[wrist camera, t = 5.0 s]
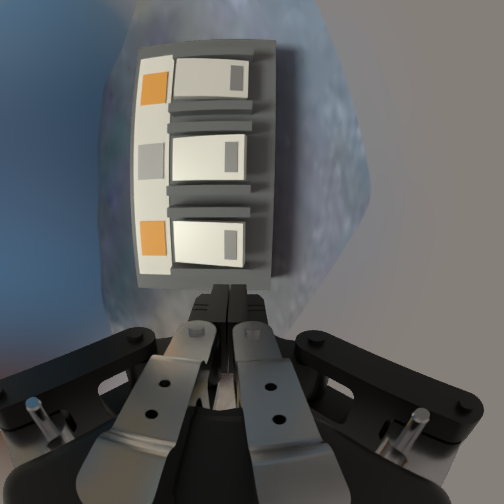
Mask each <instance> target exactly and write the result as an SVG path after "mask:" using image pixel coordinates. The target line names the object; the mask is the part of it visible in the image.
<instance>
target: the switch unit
mask: <svg viewBox="0 0 504 504" xmlns="http://www.w3.org/2000/svg"><path fill="white" fill-rule="evenodd" d="M178 58H207V59H229V60H242V61H249V70H248V98H247V99H246V100H218V99H177V100H174V85H175V73H176V62H177V59H178ZM275 126H276V41H275V40H257V39H215V40H198V41H186V42H177V43H168V44H161V45H155V46H149V47H143V48H139V54H138V60H137V68H136V75H135V84H134V94H133V105H132V119H131V141H130V195H131V217H132V232H133V244H134V255H135V264H136V273H137V281H138V288H162V289H196V290H212V288H213V284H229V285H230V286H231V284H246V285H247V290H270V286H271V264H272V239H273V211H274V176H275ZM232 134H245V135H246V136H247V160H246V180H180V181H172V164H173V138H181V137H194V136H209V135H232ZM177 219H192V220H221V221H245V264H244V266H243V267H232V266H219V265H207V264H195V263H183V262H175V247H174V226H173V221H175V220H177Z"/></svg>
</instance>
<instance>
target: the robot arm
mask: <svg viewBox="0 0 504 504" xmlns="http://www.w3.org/2000/svg"><path fill="white" fill-rule="evenodd" d="M228 358H229V373H233V377H234V395H235V404H236V408H234V409H228V410H221V411H217V410H216V405H217V399H218V394H219V389H220V382H219V381H220V379H221V373H227V369H228ZM123 371H126V374H127V377H128V380H129V381H128V382H126V383H124V384H122V385H120V386H118V387H116V388H114V389H112V390H110V391H108V392H106V393H104V394H102V395H100V396H99V394H98V387H99V385H100V383H101V382H103V381H104V380H106V379H109V378H111V377H113V376H114V375H117V374H119V373H121V372H123ZM329 378H331V379H333V380H334V381H336V382H338V383H340V384H342V385H344V386H346V387H347V388H349V389H350V390H351V391H352V393H353V395H354V399H352V398H350V397H348V396H346V395H344V394H343V393H341V392H339V391H337V390H335V389H333V388H332V387H330V386H327V383H328V379H329ZM483 413H484V408H483V404H482V402H481V401H480V399H478V397H476V396H475V395H473V394H472V393H470V392H467V391H464V390H462V389H459V388H456V387H454V386H451V385H448V384H446V383H443V382H441V381H438V380H435V379H433V378H430V377H428V376H425V375H423V374H420V373H418V372H415V371H413V370H411V369H408V368H406V367H403V366H401V365H399V364H396V363H394V362H392V361H389V360H387V359H385V358H382V357H380V356H377V355H375V354H373V353H371V352H368V351H366V350H364V349H362V348H359V347H357V346H355V345H353V344H350V343H348V342H346V341H344V340H342V339H339V338H337V337H335V336H333V335H331V334H328V333H326V332H323V331H317V330H309V331H304V332H302V333H300V334H299V335H297V337H296V340H295V341H293V340H286V339H282V338H279V337H277V336H275V335H274V333H273V330H272V328H271V327H270V326H269V325H268V321H267V315H266V311H265V305H264V299H263V298H261V297H260V296H259V295H258V294H247V285H246V284H231V286H230V285H229V284H213V288H212V292H211V294H201V295H200V296H199V297H197V298H196V300H195V302H194V305H193V308H192V311H191V314H190V317H189V320H188V322H186V323H183V324H182V325H180V326H179V327H178V329H177V331H176V333H175V334H174V336H173V337H169V338H161V339H156V338H155V334H154V332H153V331H152V330H150V329H148V328H144V327H133V328H129V329H126V330H124V331H121V332H119V333H116V334H114V335H112V336H109V337H107V338H104V339H102V340H100V341H97V342H95V343H92V344H90V345H87V346H85V347H83V348H80V349H78V350H75V351H73V352H70V353H68V354H65V355H63V356H61V357H58V358H55V359H53V360H50V361H48V362H45V363H42V364H40V365H37V366H35V367H32V368H30V369H27V370H24V371H22V372H20V373H17V374H14V375H11V376H9V377H6V378H4V379H1V380H0V430H1V432H2V434H3V437H4V440H5V443H6V446H7V449H8V452H9V455H10V458H11V460H12V463H13V465H14V468H15V469H14V470H13V471H12V472H11V473H10V474H9V476H8V477H7V479H6V481H5V484H4V488H3V502H4V504H451V501H450V499H449V497H448V495H447V494H446V492H445V491H444V490H443V489H442V488H441V486H442V484H443V482H444V480H445V478H446V476H447V474H448V472H449V470H450V467H451V465H452V463H453V461H454V458H455V456H456V453H457V451H458V449H459V447H460V445H461V444H462V443H463V441H464V440H465V439H466V438H467V437H468V435H469V434H470V433H471V431H472V430H473V429H474V427H475V426H476V425H477V423H478V422H479V420H480V419H481V417H482V416H483Z"/></svg>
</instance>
